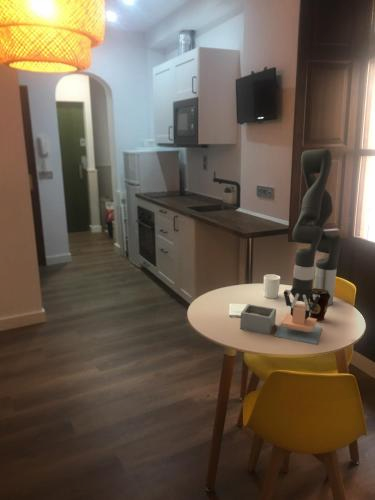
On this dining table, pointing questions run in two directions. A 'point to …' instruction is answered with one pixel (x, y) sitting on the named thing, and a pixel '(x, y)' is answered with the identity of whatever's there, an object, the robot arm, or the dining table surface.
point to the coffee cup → (319, 304)
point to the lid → (299, 319)
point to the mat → (299, 334)
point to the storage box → (258, 319)
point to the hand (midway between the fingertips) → (299, 317)
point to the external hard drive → (236, 310)
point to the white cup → (271, 285)
